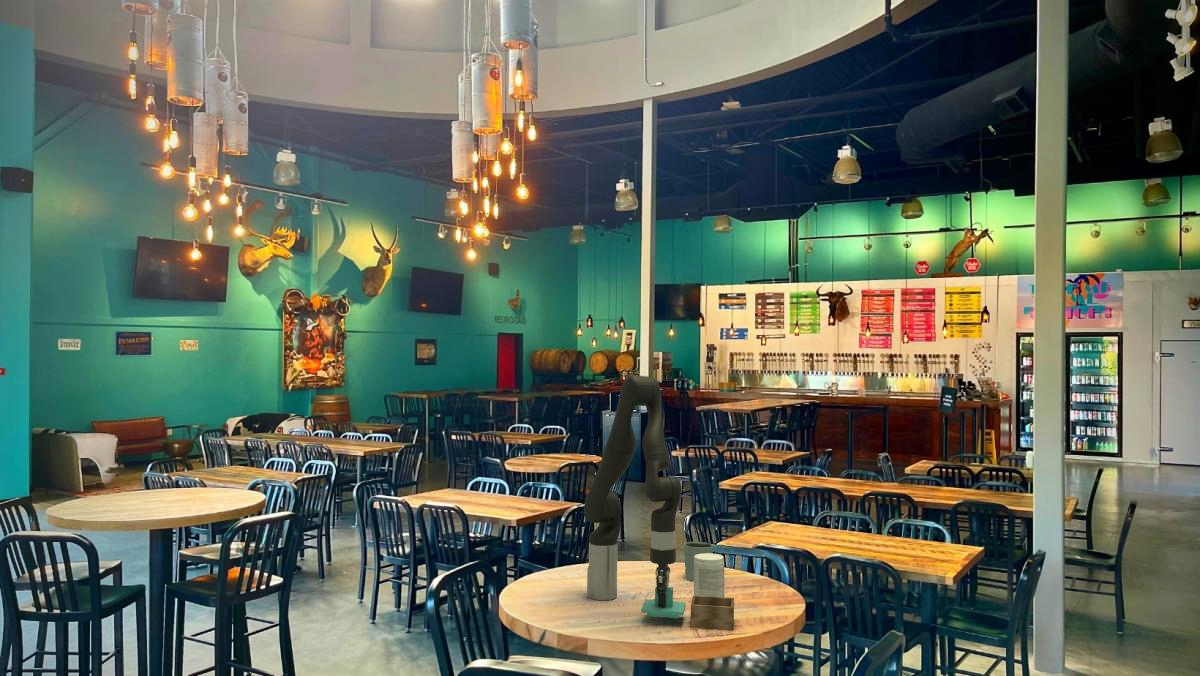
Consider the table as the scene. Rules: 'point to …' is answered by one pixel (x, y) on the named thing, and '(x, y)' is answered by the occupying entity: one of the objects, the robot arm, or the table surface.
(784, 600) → the table surface
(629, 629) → the table surface
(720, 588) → the supplement tub
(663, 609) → the lid
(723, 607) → the crate
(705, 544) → the grey green pot
